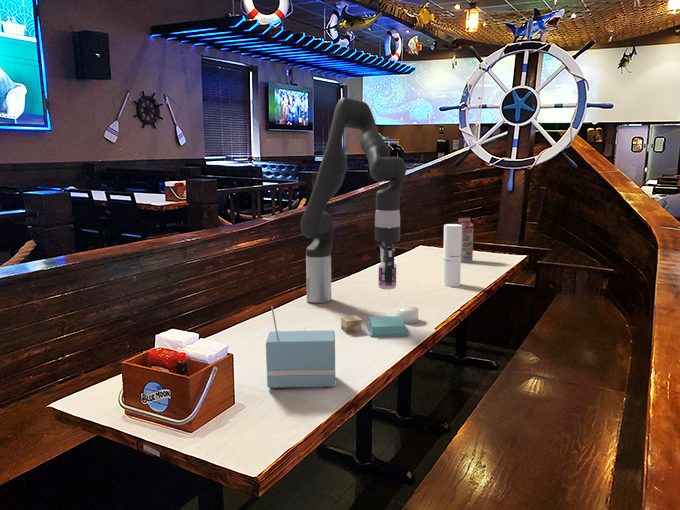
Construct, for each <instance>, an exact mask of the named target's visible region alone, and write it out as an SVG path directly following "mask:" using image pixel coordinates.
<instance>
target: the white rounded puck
mask: <svg viewBox="0 0 680 510" xmlns="http://www.w3.org/2000/svg"><path fill="white" fill-rule="evenodd" d="M396 316H401V318H402V320H403V322H404V324H405V325H406V324H407V325H410V324H415V323H418V322H419V308H418V307H416V306H412V305H402V306H399V307H397V308H396Z"/></svg>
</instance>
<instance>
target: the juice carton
mask: <svg viewBox="0 0 680 510" xmlns="http://www.w3.org/2000/svg"><path fill="white" fill-rule="evenodd" d="M455 224H459V225H462V239H461V264H463V263H473V254H474V253H473V251H474V224H473V222H472V221H471V217H460V218H458V221H457V222H455Z"/></svg>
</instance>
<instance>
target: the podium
mask: <svg viewBox="0 0 680 510" xmlns="http://www.w3.org/2000/svg"><path fill="white" fill-rule="evenodd" d="M368 322H369V323H367V329H368V332H369V336H370V338H383V337H385V338H387V337H388V338H389V337H408V336H409V334H408V332H407V329H406V328H407V326H406V323H404V322H403V320H402V318H401V316H397V315H390V316H384V315H383V316H369V321H368Z"/></svg>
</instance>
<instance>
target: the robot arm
mask: <svg viewBox="0 0 680 510" xmlns="http://www.w3.org/2000/svg"><path fill="white" fill-rule="evenodd" d="M376 124H377V123H376V120H375V118H374V116H373V112H372V110H371V108H370V106H369V104H367V102H365V101H362V100H358V99H353V98H348V97H344V96H343V97H341V98H340V99H338V102H337V104H336V105H335V108H334V112H333V116H332V121H331V124H330V130H329V134H328V140H327V143H326V145H325V150H324V153H323V157H322V159H321V162H320V165H319V168H318V172H317V175H316V179H315V183H314V185H313V189H312V192H311V195H310V197H309V201H308V203H307V205H306V206H305V207H306V208H305V210H304V212H303V214H302V217H301V221H300V231H301V234H302V235H303V236H304V237H305V238H307V239H313V240H312V242H311V243H310V244H309V245H308V246H307V247H306V248H305V266H306V267H305V271H306V272H305V274H306V277H305V279H306V281H305V283H306V302H307V303H313V304H325V303H328V302H331V301H332V254H331V253H332V249H333V245H334V220H333V218H332V215H331V214H330V213H329V212H327V211H325V209H326V206H328V203H329V202H330V200H332V198H333V197H334V196H335V195H336V193H338V191H339V189H340V188H341V186H342V185H343V182H344V179H345V177H346V174H347V170H348V160H347V156H346V153H345V149H344V145H343V138H344V137H343V136H344V132H345V129H346V128H348V129H353V130H359V131H361V133H362V135H361V138H360V146H361V149H362V151H363V153H364V155H365V156H366V158H367V161H368V166H369V167H368V169H369V174H370V177H371V178H372V179H373V180H374V181H376V182H389V184H388V186H387V187H385V188H383V189H379V190H377V192H376V193H375V215H374V216H375V217H374V240H375V241H377V242H381V243H380V246H379V249H380V250H379V251H380V258H381V257H382V261H383V263H384V269H385V282H386V283H391V282H392V270H393V269H394V263H395V252H396V249H395V247H394V245H393V243H394V242H399V241H400V239H401V214H400V206H401V205H400V200H401V199H400V197H401V192H402V188H403V184H404V181H405V177H406V173H407V172H406V171H407V166H406V162H405V160H404V159H403V158H402V157H400V156H390V155H391V154H390V153H391V151H390V149H389V147H388V145H387V144H386V142H385V140H384V139H383V138H382V136H381V134H380V132H379V130H378V127H377V125H376ZM387 263H391V265H387Z"/></svg>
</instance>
